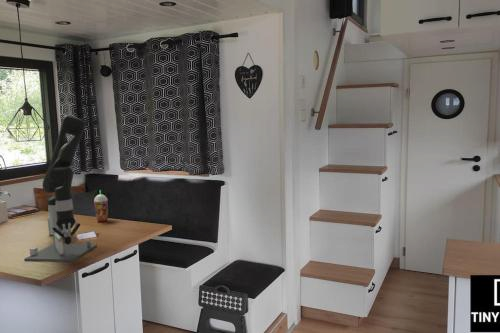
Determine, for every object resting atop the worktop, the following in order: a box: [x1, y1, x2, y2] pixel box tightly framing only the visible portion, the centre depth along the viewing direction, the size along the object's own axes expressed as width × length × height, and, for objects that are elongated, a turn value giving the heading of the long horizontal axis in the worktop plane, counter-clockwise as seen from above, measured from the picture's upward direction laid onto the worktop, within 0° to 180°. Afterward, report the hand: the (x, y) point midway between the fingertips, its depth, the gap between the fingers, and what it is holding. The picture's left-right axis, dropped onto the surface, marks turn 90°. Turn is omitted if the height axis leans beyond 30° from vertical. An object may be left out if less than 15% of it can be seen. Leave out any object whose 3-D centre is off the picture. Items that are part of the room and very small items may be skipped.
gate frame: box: [23, 231, 98, 263], centre depth 210 cm, size 25×23×10 cm
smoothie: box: [93, 189, 109, 223], centre depth 273 cm, size 8×8×20 cm
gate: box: [53, 233, 64, 254], centre depth 210 cm, size 15×2×7 cm, turn 32°
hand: (68, 244), depth 208 cm, fingers closed
